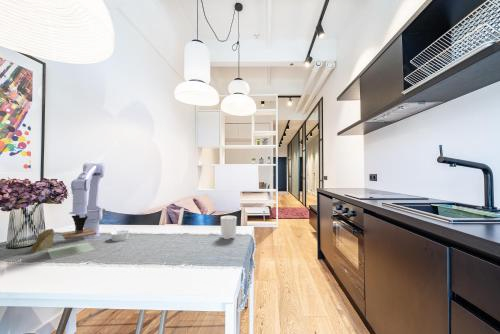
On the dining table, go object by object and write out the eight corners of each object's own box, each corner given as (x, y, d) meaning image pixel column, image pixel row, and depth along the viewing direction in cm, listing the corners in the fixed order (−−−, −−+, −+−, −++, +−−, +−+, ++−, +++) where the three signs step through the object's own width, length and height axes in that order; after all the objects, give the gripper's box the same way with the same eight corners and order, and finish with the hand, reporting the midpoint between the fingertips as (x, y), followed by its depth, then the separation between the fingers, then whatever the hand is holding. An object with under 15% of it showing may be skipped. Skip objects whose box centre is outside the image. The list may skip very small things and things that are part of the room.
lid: (61, 234, 108) (62, 224, 108) (91, 229, 117) (91, 220, 117) (65, 239, 100) (65, 229, 100) (96, 234, 108) (96, 224, 109)
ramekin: (108, 242, 118) (108, 234, 118) (114, 237, 126) (114, 230, 126) (126, 241, 120) (126, 233, 120) (130, 236, 129) (130, 229, 129)
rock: (33, 250, 99) (59, 241, 108) (26, 235, 100) (52, 227, 109) (27, 260, 103) (53, 251, 112) (20, 245, 105) (46, 237, 114)
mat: (47, 250, 105) (47, 249, 105) (87, 242, 117) (87, 242, 117) (51, 259, 94) (51, 259, 94) (94, 250, 106) (94, 249, 106)
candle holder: (217, 238, 125) (217, 218, 126) (224, 234, 135) (224, 215, 135) (233, 240, 123) (233, 219, 123) (238, 235, 132) (239, 216, 132)
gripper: (67, 202, 110) (66, 228, 110) (72, 205, 101) (71, 234, 100) (84, 200, 116) (84, 226, 115) (90, 203, 106) (89, 231, 106)
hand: (79, 229), depth 108 cm, fingers closed on lid, 3 cm apart
